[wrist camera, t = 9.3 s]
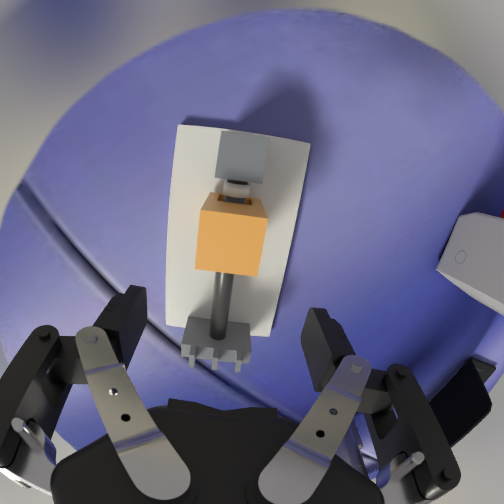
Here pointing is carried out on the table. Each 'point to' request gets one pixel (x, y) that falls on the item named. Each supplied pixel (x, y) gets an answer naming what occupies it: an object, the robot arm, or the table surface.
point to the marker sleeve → (230, 235)
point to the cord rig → (186, 233)
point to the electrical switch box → (477, 258)
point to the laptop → (463, 401)
